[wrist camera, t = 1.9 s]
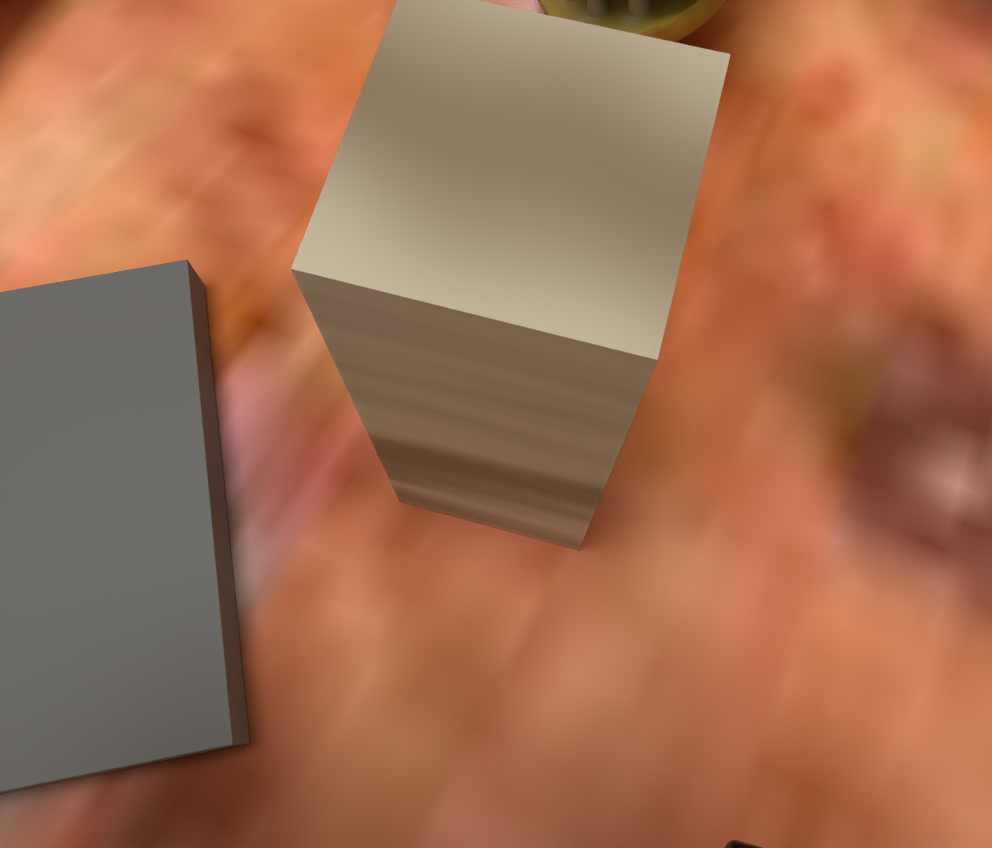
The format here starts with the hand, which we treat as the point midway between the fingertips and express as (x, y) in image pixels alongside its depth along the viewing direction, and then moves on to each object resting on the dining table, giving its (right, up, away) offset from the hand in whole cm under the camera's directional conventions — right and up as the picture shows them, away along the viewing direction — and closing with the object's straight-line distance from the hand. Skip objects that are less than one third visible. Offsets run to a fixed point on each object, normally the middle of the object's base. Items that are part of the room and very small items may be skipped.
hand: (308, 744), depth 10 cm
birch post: (+3, +3, +15) cm, 16 cm away
